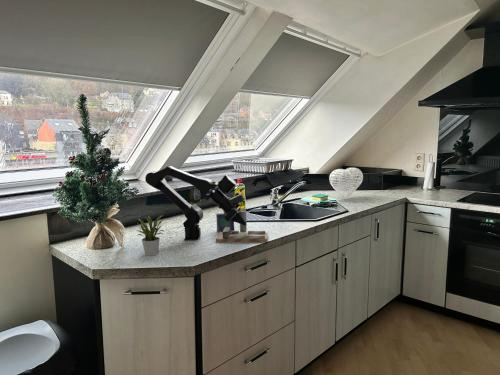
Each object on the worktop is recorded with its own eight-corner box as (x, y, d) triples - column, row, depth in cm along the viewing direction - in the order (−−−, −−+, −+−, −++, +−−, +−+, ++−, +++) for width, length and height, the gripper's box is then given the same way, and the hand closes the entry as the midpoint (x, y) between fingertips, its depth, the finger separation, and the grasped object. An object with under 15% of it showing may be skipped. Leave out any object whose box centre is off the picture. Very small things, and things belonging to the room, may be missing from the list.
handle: (238, 237, 174) (237, 212, 173) (239, 233, 181) (239, 209, 179) (247, 237, 174) (246, 212, 172) (248, 233, 180) (247, 209, 179)
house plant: (175, 247, 166) (173, 210, 164) (169, 257, 152) (167, 217, 150) (141, 248, 166) (139, 211, 163) (132, 258, 152) (130, 218, 150)
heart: (348, 195, 289) (349, 166, 286) (366, 198, 277) (367, 167, 274) (324, 200, 271) (324, 169, 268) (342, 203, 259) (343, 170, 256)
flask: (216, 231, 192) (215, 210, 191) (218, 230, 195) (217, 209, 193) (233, 232, 189) (232, 211, 188) (235, 231, 192) (235, 210, 190)
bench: (215, 242, 173) (215, 232, 172) (219, 235, 184) (219, 226, 183) (267, 242, 171) (267, 232, 171) (267, 235, 182) (267, 226, 182)
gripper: (231, 191, 165) (257, 216, 166) (235, 185, 184) (259, 207, 184) (213, 209, 167) (239, 233, 168) (219, 201, 185) (243, 223, 186)
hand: (246, 223), depth 176 cm, fingers closed on handle, 3 cm apart
